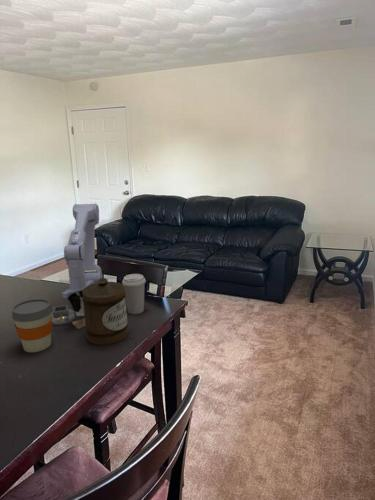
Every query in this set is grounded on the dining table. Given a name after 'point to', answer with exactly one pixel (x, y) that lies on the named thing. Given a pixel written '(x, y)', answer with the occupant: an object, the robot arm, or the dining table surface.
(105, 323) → the wooden container
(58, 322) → the grey frying pan
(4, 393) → the dining table surface
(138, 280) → the coffee cup
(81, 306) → the grey block
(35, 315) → the reusable coffee cup
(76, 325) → the coaster
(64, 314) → the open square box
